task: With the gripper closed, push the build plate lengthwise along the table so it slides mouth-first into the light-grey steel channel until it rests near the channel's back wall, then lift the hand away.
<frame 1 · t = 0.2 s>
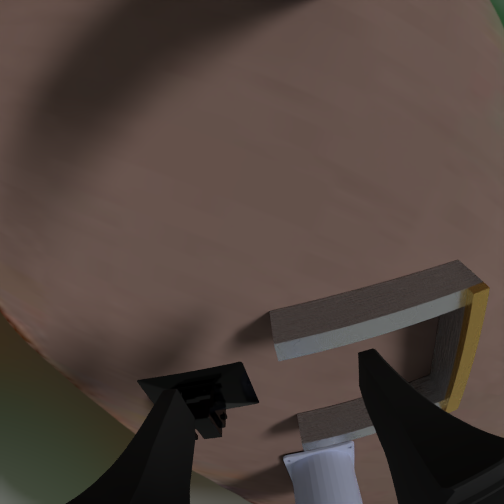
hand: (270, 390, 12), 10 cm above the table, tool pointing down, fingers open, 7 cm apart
steel channel: (366, 357, 25), on the table
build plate: (198, 387, 26), on the table
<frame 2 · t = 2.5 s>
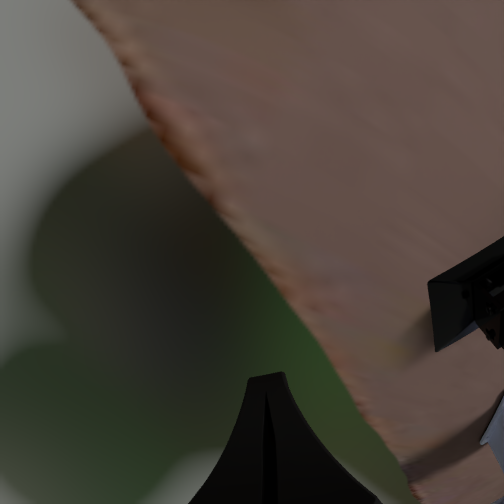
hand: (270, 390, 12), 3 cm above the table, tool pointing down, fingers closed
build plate: (489, 276, 15), on the table
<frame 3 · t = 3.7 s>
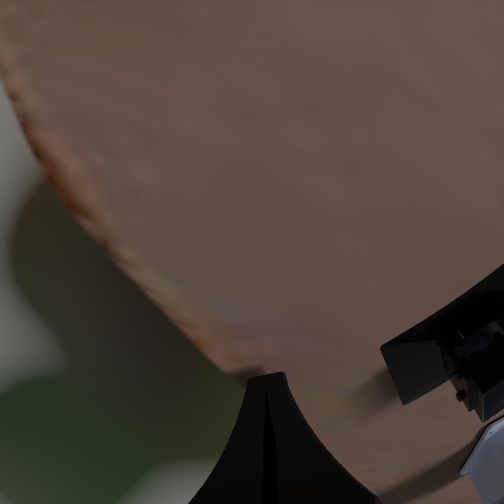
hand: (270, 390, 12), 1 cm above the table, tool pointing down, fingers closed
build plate: (466, 321, 13), on the table
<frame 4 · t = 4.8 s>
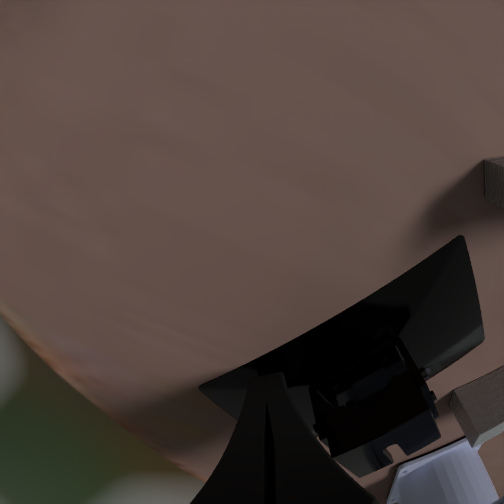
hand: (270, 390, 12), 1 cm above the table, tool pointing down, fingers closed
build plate: (358, 362, 13), on the table, touching gripper
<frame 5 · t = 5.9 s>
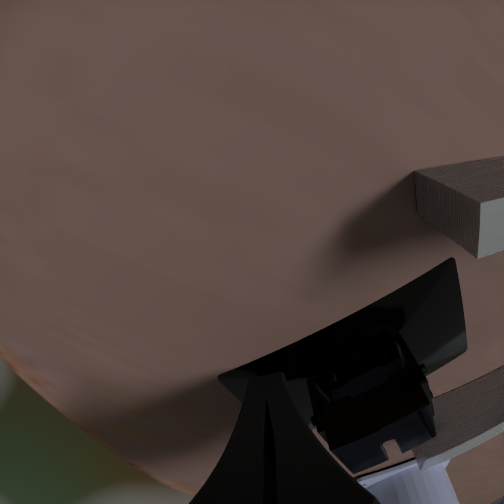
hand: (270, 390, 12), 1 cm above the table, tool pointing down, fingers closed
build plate: (356, 358, 13), on the table, touching gripper
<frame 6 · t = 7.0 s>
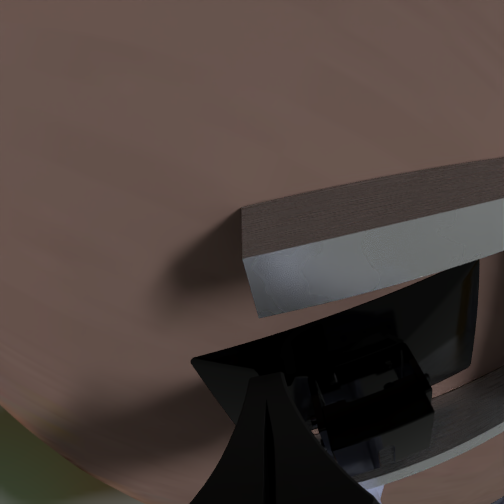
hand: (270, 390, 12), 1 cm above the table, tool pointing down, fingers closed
steel channel: (434, 329, 12), on the table
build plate: (354, 363, 13), on the table, touching gripper
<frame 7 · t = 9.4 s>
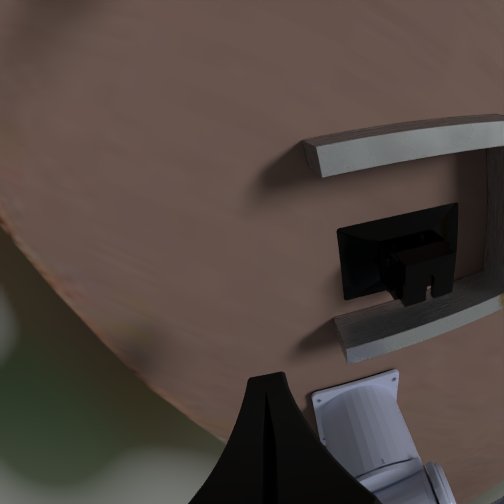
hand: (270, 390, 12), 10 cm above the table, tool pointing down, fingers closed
steel channel: (416, 226, 20), on the table
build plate: (399, 247, 21), on the table
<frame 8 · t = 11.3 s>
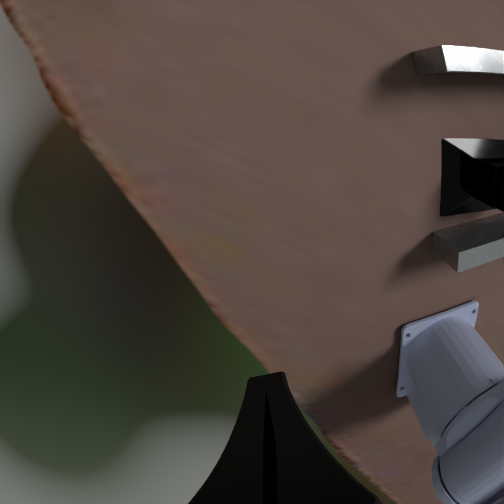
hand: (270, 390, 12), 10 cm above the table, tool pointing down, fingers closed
steel channel: (497, 146, 18), on the table
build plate: (482, 172, 20), on the table
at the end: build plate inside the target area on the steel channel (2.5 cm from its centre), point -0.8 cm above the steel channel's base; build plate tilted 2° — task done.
